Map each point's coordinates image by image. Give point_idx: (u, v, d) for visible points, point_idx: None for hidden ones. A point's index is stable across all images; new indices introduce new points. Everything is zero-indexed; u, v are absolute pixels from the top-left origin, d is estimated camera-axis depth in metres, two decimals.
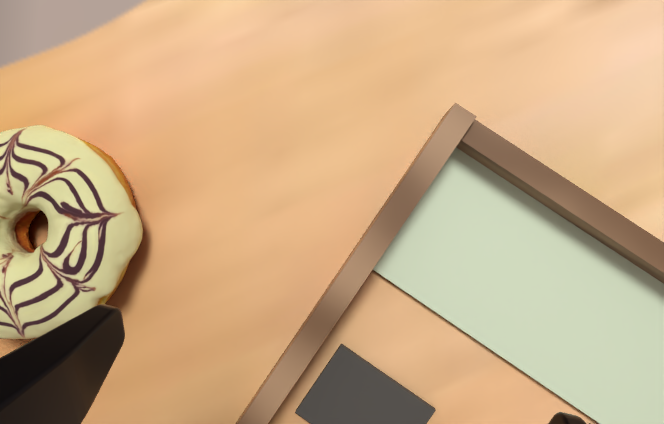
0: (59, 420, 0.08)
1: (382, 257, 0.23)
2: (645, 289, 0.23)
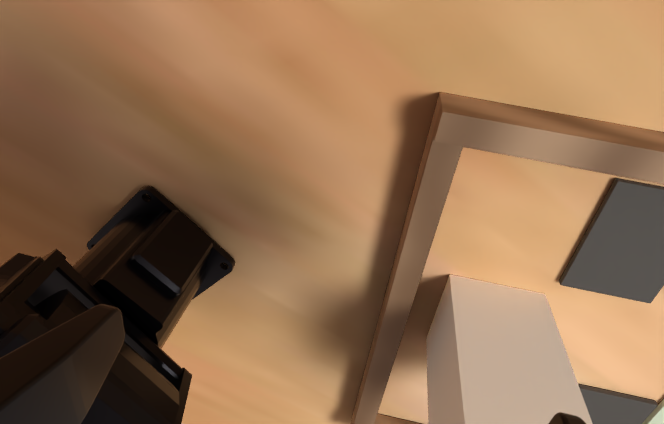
0: (59, 420, 0.08)
1: None
2: None
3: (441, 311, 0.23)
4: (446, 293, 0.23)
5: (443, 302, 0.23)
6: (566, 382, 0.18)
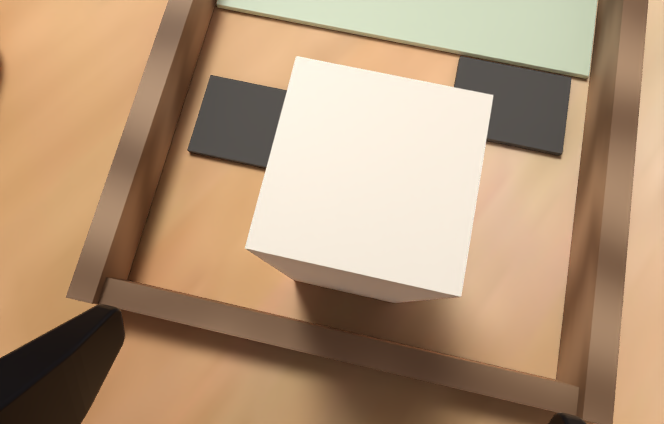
0: (59, 420, 0.08)
1: None
2: None
3: (328, 287, 0.21)
4: None
5: (320, 285, 0.21)
6: None
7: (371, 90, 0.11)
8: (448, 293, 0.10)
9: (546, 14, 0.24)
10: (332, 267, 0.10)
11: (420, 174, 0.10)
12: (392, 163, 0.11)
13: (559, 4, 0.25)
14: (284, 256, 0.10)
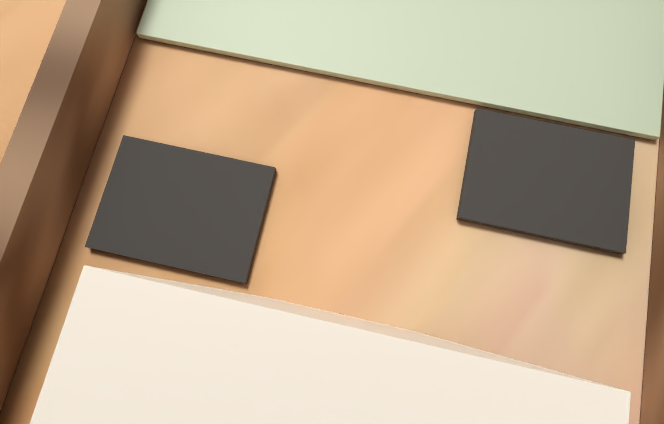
0: None
1: (144, 16, 0.18)
2: None
3: None
4: None
5: None
6: None
7: (282, 372, 0.04)
8: None
9: (596, 48, 0.17)
10: None
11: None
12: None
13: (614, 34, 0.18)
14: None
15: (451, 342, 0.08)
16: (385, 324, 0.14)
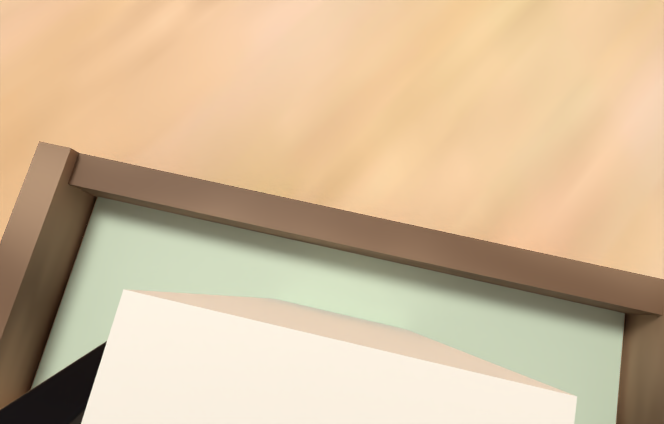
0: None
1: (37, 377, 0.16)
2: (392, 282, 0.17)
3: None
4: None
5: None
6: None
7: (289, 379, 0.05)
8: None
9: None
10: None
11: None
12: None
13: None
14: None
15: (440, 345, 0.09)
16: None
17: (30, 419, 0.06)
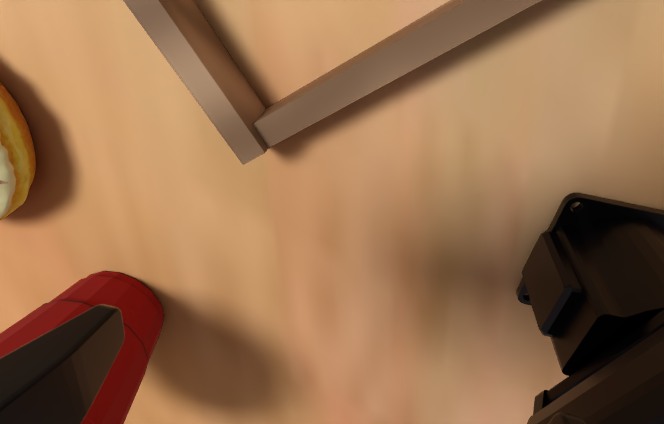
0: (59, 420, 0.08)
1: None
2: None
3: None
4: None
5: None
6: None
7: None
8: None
9: None
10: None
11: None
12: None
13: None
14: None
15: None
16: None
17: None
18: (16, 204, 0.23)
